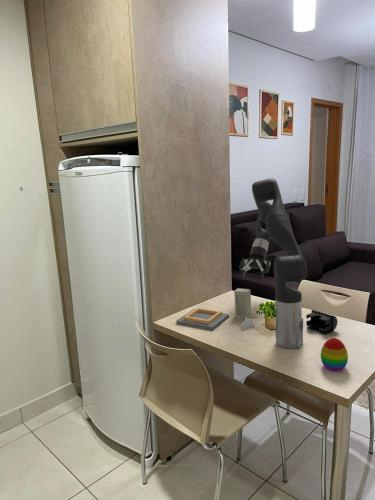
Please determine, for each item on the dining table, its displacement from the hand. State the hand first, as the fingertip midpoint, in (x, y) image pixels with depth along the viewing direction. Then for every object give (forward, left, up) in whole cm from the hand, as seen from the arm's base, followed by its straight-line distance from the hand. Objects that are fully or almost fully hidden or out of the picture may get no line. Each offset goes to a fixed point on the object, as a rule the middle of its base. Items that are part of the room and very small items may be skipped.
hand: (251, 278), depth 175 cm
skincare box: (0, +10, -15) cm, 18 cm away
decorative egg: (-44, +40, -15) cm, 61 cm away
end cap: (-34, +11, -15) cm, 39 cm away
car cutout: (-5, +25, -15) cm, 30 cm away
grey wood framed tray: (+14, +22, -15) cm, 30 cm away
